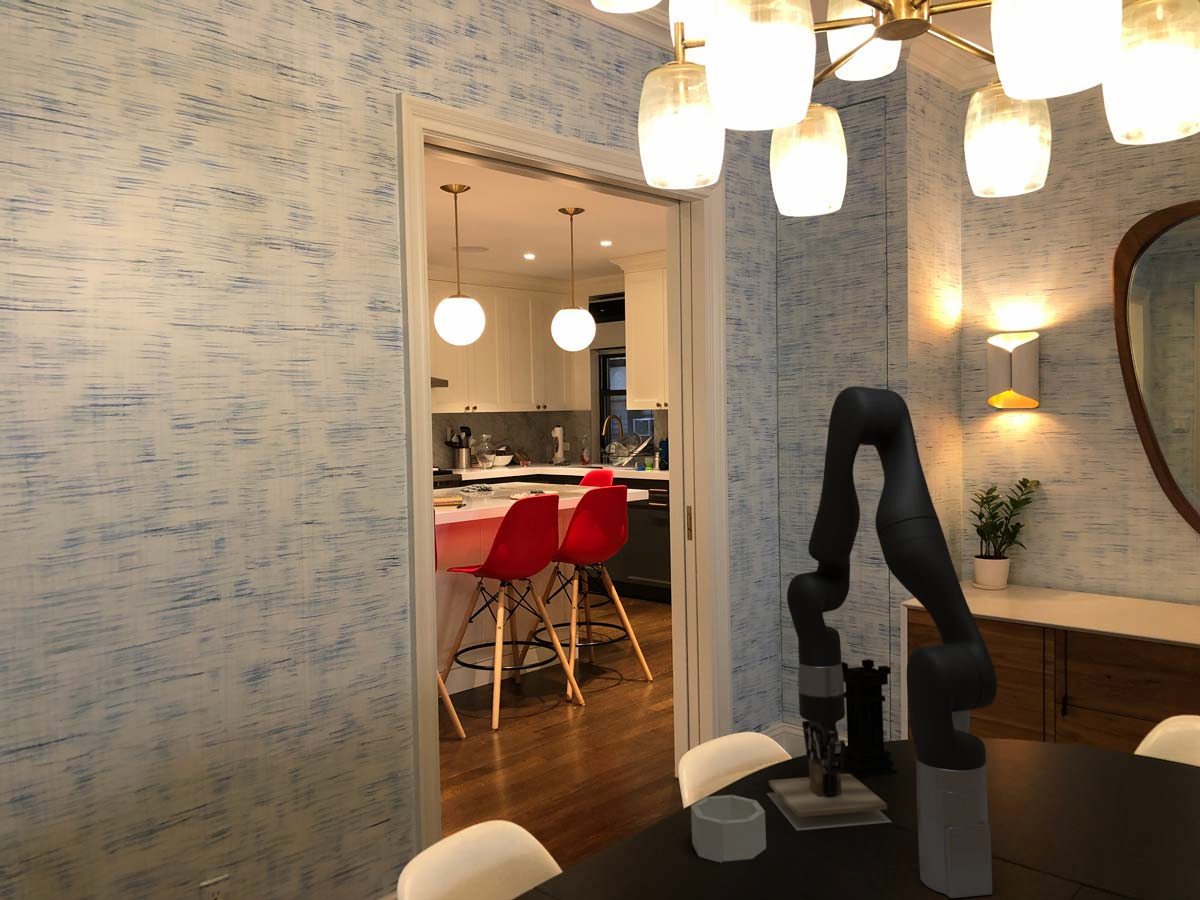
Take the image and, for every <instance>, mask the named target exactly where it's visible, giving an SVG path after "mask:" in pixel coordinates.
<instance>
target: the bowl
mask: <svg viewBox="0 0 1200 900" xmlns="http://www.w3.org/2000/svg"><path fill="white" fill-rule="evenodd" d="M690 813H691V814H690V815H691V839H692V841H691V842H692V844H691V845H692V846H693V848H694V850H695V852H696V855H697V856H698V858H699V857H700V858H703V859H705V860H706V859H707V860H710V861H713V862H717V863H719V862H720V864H723V862H732V861H733V862H734V861H744V860H753V859H754V858H755V857H757V856H758V855H759V854H760V853H762V852H763V851H764V850H766V849H767V839H766V838H767V837H766V836H767V835H766V811H765V810H764V808H763V807H762V806H761V805H760V803H759V802H758V801H757V800H756V799H751V798H746V797H742V796H740V795H739V796H738V795H735V794H728V795H726V794H725V795H714V796H705V797H703V798H701V800H699V801H696V802H695V803H694V804H692V805H690Z"/></svg>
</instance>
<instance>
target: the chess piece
mask: <svg viewBox="0 0 1200 900" xmlns="http://www.w3.org/2000/svg"><path fill="white" fill-rule="evenodd" d="M874 664H875V661H874V660H872V659H870V658H869V659H868V658H867V659H861V666H856V667H849V663H847V662H845V661H841V665H842V671H843V679H844V683H845V691H844V699H845V706H846V707H845V712H846V731H847V733H846V734H847V737H846V738H847V745H845V755H844V765H843V770H845V771H847V772H848V773H850V774H851V775H852V776H853V777H855V778H857V779H864V778H871V777H878V776H884V775H891V774H897V773H898V770H897V769H895V768H893V766H895V764H894V763H895V762H894V761H893V760H892V759H890V758H891V752H890V751H889V750H887V749H885V741H884V739H885V738H884V713H883V712H884V710H883V708H884V707H883V702H886V696H884V695H883V686H885V685H889V680H888V675H891V667H890V666H889V665H879V666H877V668H875V665H874Z"/></svg>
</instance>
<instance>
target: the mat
mask: <svg viewBox="0 0 1200 900" xmlns="http://www.w3.org/2000/svg"><path fill="white" fill-rule="evenodd" d="M766 795H767V796H768V797H769V798H770V800H771V801H772V802H773V803H774V804H775V805H776V807H777V808H778V810H779V811H780V812H781V813H782V814H783V816H784V817H785V818H786V819H787V821H789V823H790V824H791V826H792V827H794V829H795V830H796V831H808V830H817V829H818V830H819V829H828V828H829V829H830V828H841V827H851V826H863V825H864V826H865V825H875V824H887V823H892V821H891V820H890V819H889V817H887V816H886V815H885V814H884V813H883V812H882V810H872V811H861V812H850V813H840V814H829V815H818V816H807V817H798V816H797V815H796V814H795V813H794V812H793V811H792V810H791V809H790V807H789V806H788V805H787V804H786V803H785V802H784V801H783V800H782V799H781V798H780V797H779V795H778V794H777V793H776V792H775V791H774V792H767V793H766Z"/></svg>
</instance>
